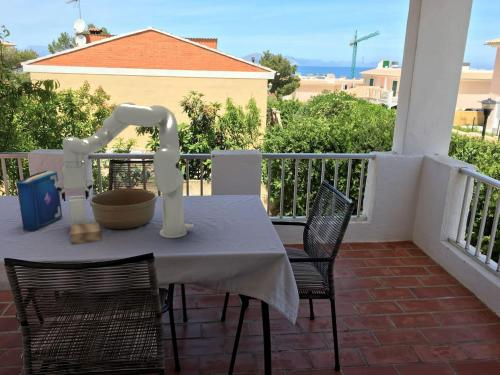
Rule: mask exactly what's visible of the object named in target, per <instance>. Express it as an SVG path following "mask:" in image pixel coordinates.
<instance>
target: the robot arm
mask: <svg viewBox="0 0 500 375" xmlns="http://www.w3.org/2000/svg"><path fill="white" fill-rule="evenodd" d="M130 126H134V127H135V126H137V127H144V128H152V127H156V126H157V127H158V140H159V148H158V149H157V150H156V151H155V152H154V155H153V159H152V160H153V161H152V162H153V172H154V184H155V186H156V189H157V190H158V191H159V192H160V193H161V206H162V207H161V210H162V228H161V229H160V231H159V235H160V236H161V237H162V238H166V239H176V238H177V239H178V238H182V237H184V236H186V235H187V233H188V229H194V226H195V225H194V224H193V223H191V224H190V223H184V180H185V179H184V174H183V172H182V171H181V170H180V169H179V168H177V167H176V164H178V162H179V161H180V158H181V152H180V139H179V129H178V127H179V126H178V121H177V119H176V116H175V114H174V113H173V112H172V111H171V110H170V109H168V108H167V107H165V106H164V105H163V106H162V105H151V106H141V105H137V104H136V103H134V102H131V101H130V102H122V103H119V104H117V105H116V106H115V107H114V109H113V111H112V113H111V114H110V115H109V116H107V117H106V118H105V119H104V120H103V121H102V127H100V128H99V129H98V130H97V131H96V132H95V133H94V134H92V135H91V136H88V137H85V138H79V137H78V136H77V137H76V136H67V137H64V138H63V139H62V149H63V150H62V151H63V163H64V165H63V167H62V168H61V169H62V171H61V179H60V180H58V182H56V183H54V186H55V187H56V188H57V190H58V191H59V193H60V194H61V199H62V200H63V201H64V202H66V193H65V192H66V190H70V189H71V190H72V189H84V194H85V200H88V199H89V197H90V194H89V193H90V190H91V189H92V188H93V186H94V184H95V181H94V180H93V179H90V178H88V177H86V171H85V166H84V165H86V161H83V160H82V156H90V155H92V154H93V153H94V154H95V153H98V152H99V151H101V150H102V149H103V148H105V147H106V146H107V145H108V144H110V143H111V142H112V141H113V140H114V139H116V137H117V136H118V135H120V134H121V133H122V132H123V131H125V129H127V128H128V127H130ZM87 182H88V183H89V185H87ZM60 184H62V187H60V186H59V185H60Z"/></svg>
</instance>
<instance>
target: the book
mask: <svg viewBox="0 0 500 375" xmlns="http://www.w3.org/2000/svg"><path fill="white" fill-rule="evenodd" d="M58 181H59V178H58V173H57V171H52V170H50V171H47V170H43V171H41V172H37V173H33V174H31V175H28V176H26V177H25V178H24V179H21V180H18V181H17V182H16V183H15V184H16V190H17V196H18V202H19V209H20V215H21V216H20V217H21V221H22V227H23V230H26V231H28V232H29V231H32V232H34V231H36V230H38V229H41V228H45V227H46V226H48V225H50V224H53V223H54V222H56V221H57V220H59V219H61V218H62V217H63V213H62V212H63V211H62V204H61V195H60V194H61V193H60V191H58V190H57V188H56V187H55V186H54V183H56V182H58Z"/></svg>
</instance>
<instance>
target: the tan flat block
mask: <svg viewBox="0 0 500 375" xmlns="http://www.w3.org/2000/svg"><path fill="white" fill-rule="evenodd" d="M99 224H100V223H99V222H97V221H96V222H89V223H88V222H86V224H78V225H72V224H70V238H71V239H70V241H71V245H76V244H77V245H78V244H84V243H93V242H94V243H95V242H100V241H102V240H101V230H100V225H99Z"/></svg>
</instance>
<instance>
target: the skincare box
mask: <svg viewBox="0 0 500 375" xmlns="http://www.w3.org/2000/svg"><path fill="white" fill-rule="evenodd" d="M68 200H69V211H70V219H71V220H70V221H71V225H78V224H87V217H86V216H87V215H86V205H85V197H84V195H74V196H69V198H68Z"/></svg>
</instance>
